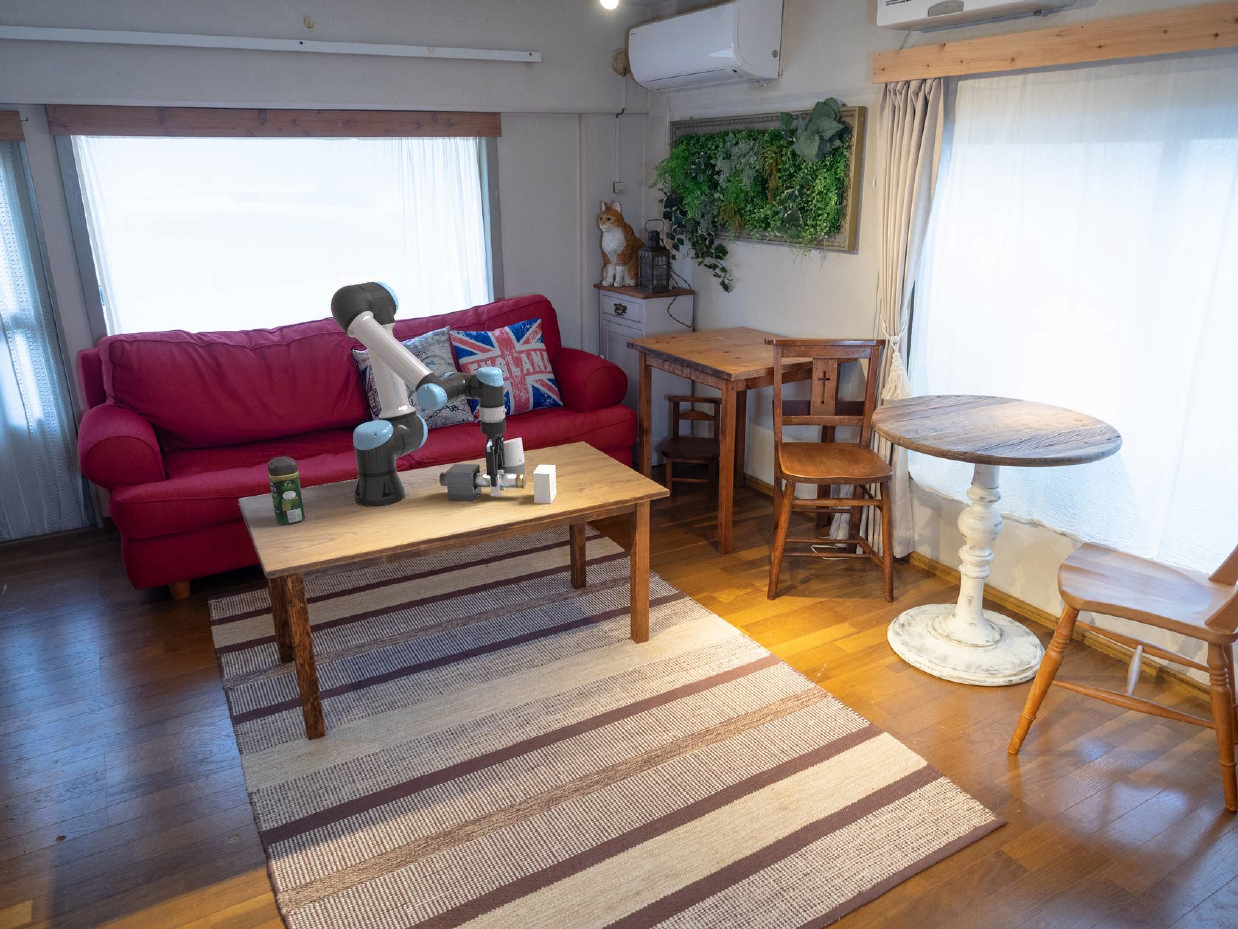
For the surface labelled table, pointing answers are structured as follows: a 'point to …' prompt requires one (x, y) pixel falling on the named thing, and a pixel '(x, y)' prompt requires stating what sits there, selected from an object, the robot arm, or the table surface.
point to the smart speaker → (514, 457)
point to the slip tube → (484, 480)
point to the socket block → (544, 484)
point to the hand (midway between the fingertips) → (497, 492)
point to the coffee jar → (286, 490)
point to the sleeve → (462, 482)
